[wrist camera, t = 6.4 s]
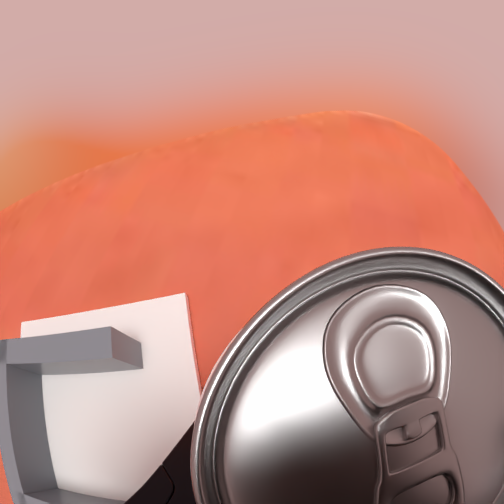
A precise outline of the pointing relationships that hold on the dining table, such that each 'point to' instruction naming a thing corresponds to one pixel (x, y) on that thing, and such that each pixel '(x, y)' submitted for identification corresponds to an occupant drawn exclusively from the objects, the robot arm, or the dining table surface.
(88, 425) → the socket
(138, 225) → the dining table surface
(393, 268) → the can
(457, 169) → the dining table surface
